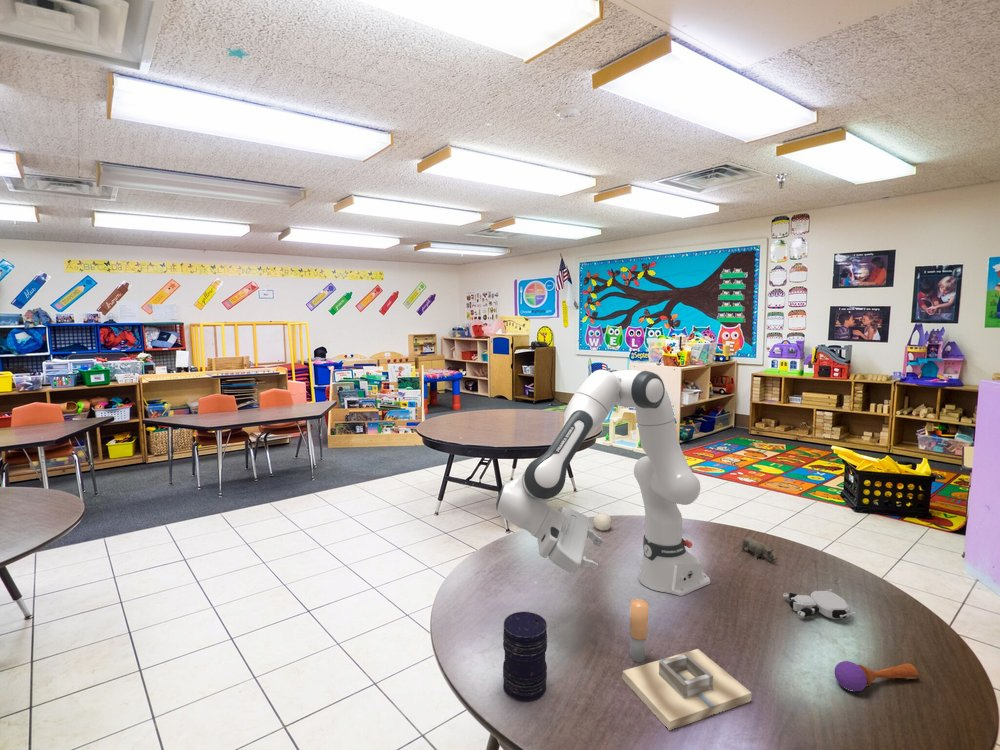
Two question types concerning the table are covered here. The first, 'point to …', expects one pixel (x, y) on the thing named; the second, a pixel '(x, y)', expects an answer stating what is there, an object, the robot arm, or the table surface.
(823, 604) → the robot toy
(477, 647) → the table surface
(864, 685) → the purple maraca
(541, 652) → the dark blue cylinder
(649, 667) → the plywood panel
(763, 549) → the rhino figurine
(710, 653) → the table surface
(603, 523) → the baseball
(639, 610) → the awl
